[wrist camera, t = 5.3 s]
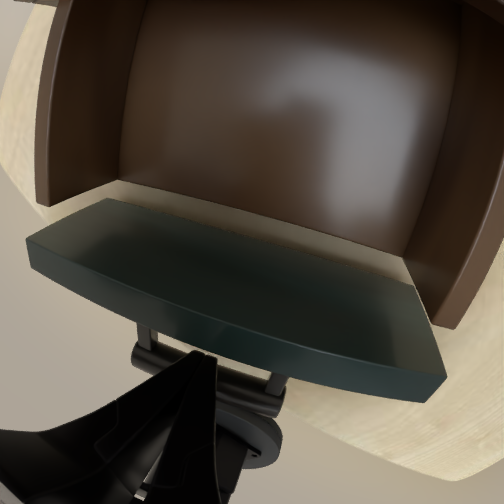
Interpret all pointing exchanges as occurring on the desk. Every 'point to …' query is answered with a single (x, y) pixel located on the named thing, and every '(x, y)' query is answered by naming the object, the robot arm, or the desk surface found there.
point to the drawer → (277, 179)
